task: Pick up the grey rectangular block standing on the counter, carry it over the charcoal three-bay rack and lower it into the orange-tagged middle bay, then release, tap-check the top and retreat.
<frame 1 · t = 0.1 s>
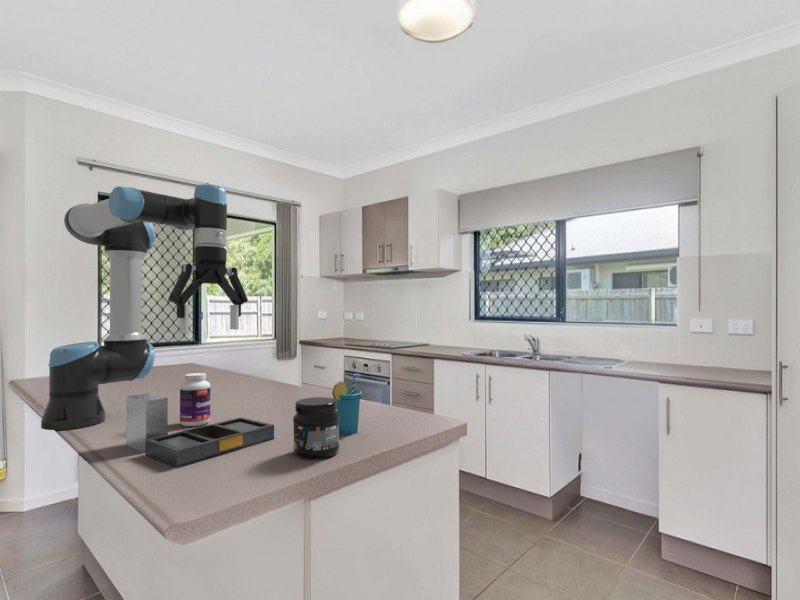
hand: (210, 330, 112), 28 cm above the worktop, fingers open, 13 cm apart
grey rectangular block: (146, 446, 108), on the worktop
rack: (213, 446, 107), on the worktop
supplement container: (316, 454, 102), on the worktop
pill bottle: (195, 424, 128), on the worktop
cup: (349, 431, 120), on the worktop
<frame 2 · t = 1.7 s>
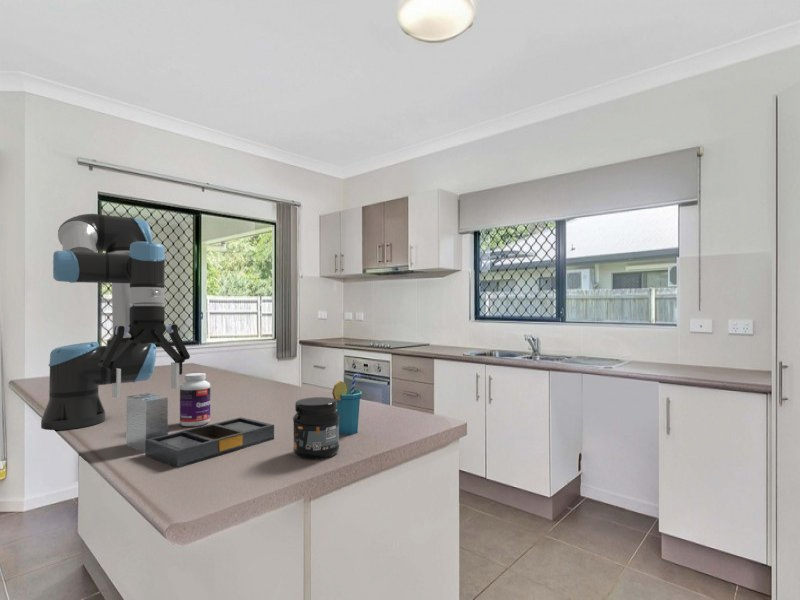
hand: (147, 392, 108), 13 cm above the worktop, fingers open, 13 cm apart
nothing on the worktop moved.
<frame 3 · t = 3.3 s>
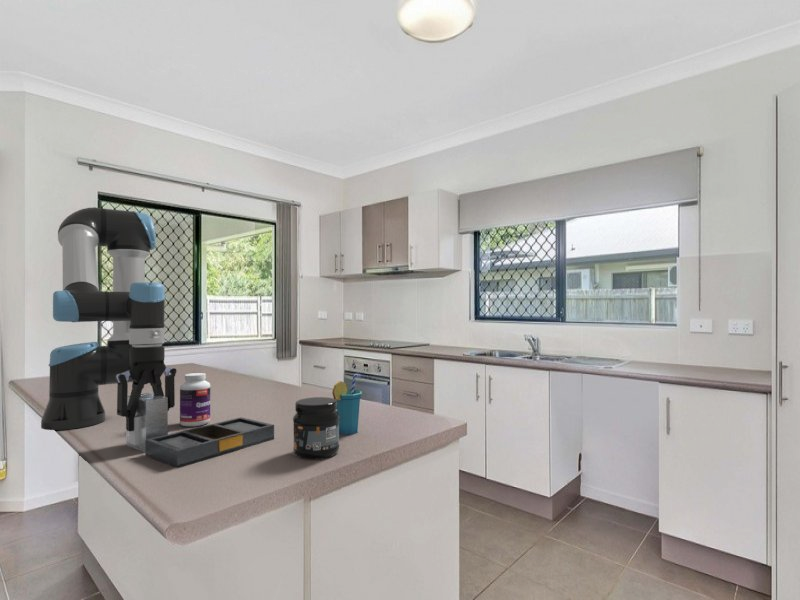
hand: (146, 440, 108), 1 cm above the worktop, fingers closed on grey rectangular block, 5 cm apart
grey rectangular block: (146, 446, 108), on the worktop, touching gripper
everything else where it was.
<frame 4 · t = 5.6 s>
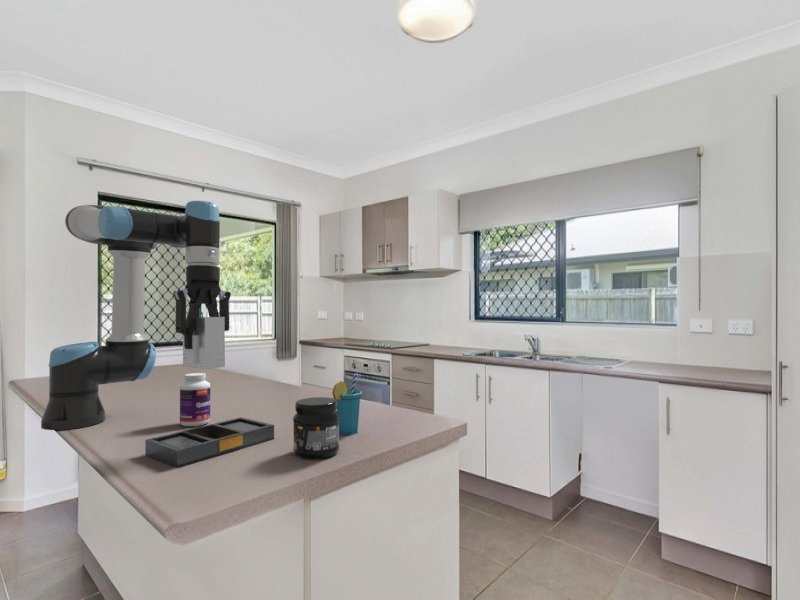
hand: (203, 361, 107), 21 cm above the worktop, fingers closed on grey rectangular block, 5 cm apart
grey rectangular block: (203, 366, 107), point 19 cm above the worktop, touching gripper
everything else where it was.
when the fingers open (4 cm above the worktop, at t = 7.8 s): grey rectangular block drops 2 cm, resting on rack.
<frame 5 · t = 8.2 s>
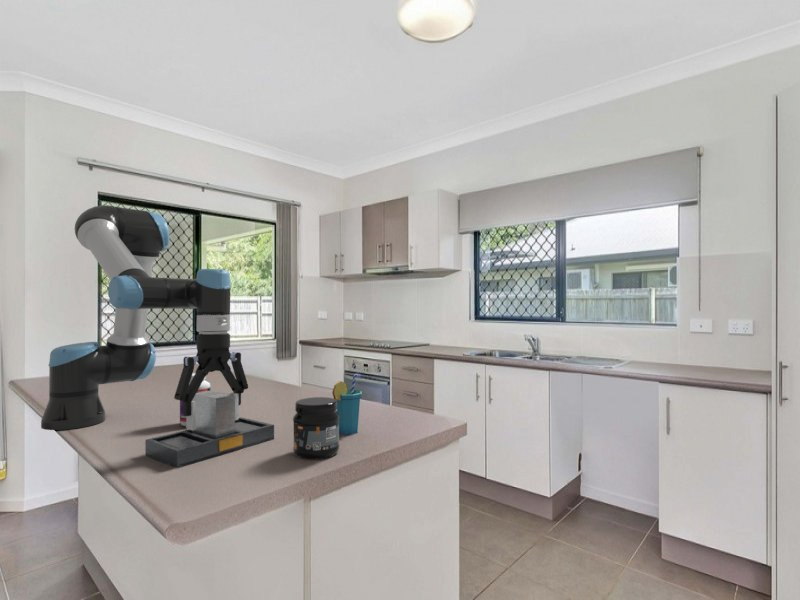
hand: (213, 424, 107), 5 cm above the worktop, fingers open, 10 cm apart
grey rectangular block: (213, 443, 107), point 1 cm above the worktop, touching rack
everything else where it was.
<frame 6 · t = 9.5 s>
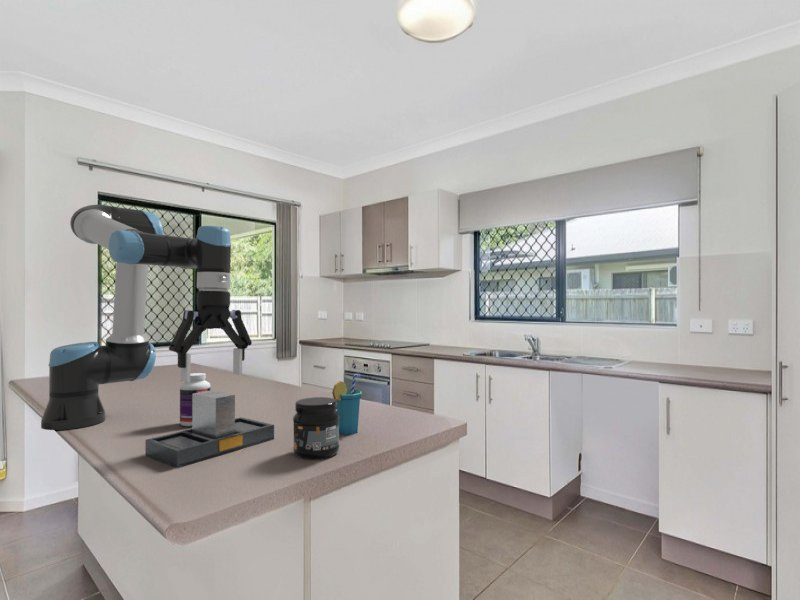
hand: (212, 377, 107), 17 cm above the worktop, fingers open, 13 cm apart
nothing on the worktop moved.
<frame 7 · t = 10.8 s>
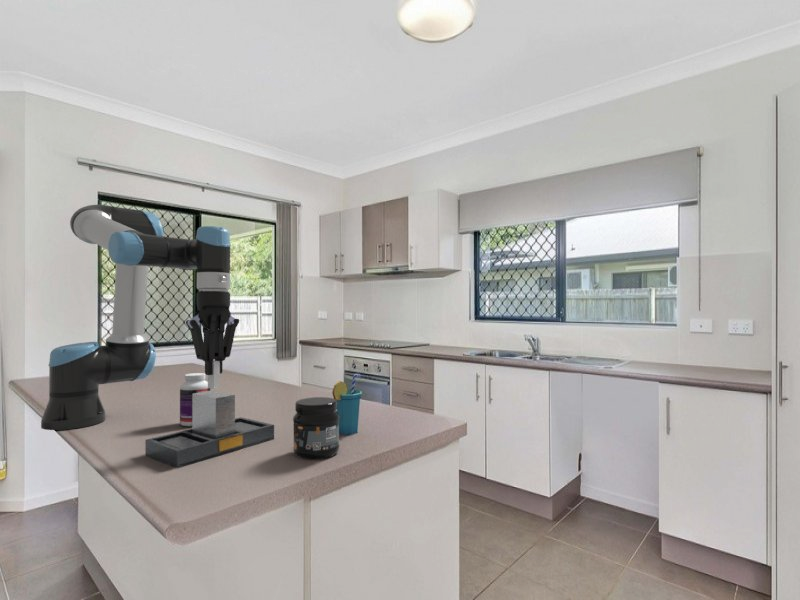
hand: (213, 387, 107), 14 cm above the worktop, fingers closed
nothing on the worktop moved.
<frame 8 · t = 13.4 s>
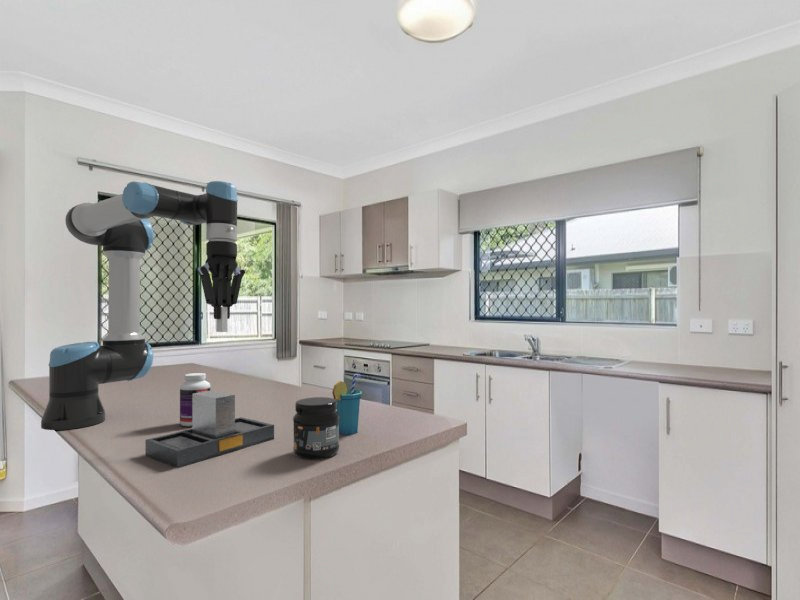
hand: (221, 331, 116), 27 cm above the worktop, fingers closed
nothing on the worktop moved.
at the end: grey rectangular block 0.0 cm off-centre on the rack, point 0.7 cm above the rack's base; grey rectangular block tilted 0°; the gripper is holding nothing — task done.
